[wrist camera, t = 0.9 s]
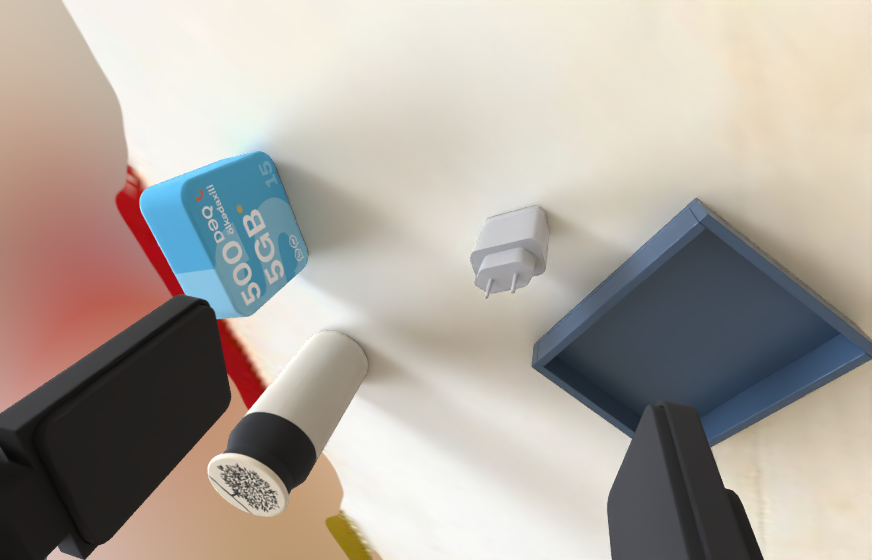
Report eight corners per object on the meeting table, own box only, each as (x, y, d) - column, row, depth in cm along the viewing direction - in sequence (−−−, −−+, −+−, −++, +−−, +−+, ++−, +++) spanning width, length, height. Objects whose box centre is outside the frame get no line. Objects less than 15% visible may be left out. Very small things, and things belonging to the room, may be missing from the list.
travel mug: (343, 320, 50) (247, 446, 35) (382, 373, 53) (307, 513, 38) (294, 340, 54) (186, 464, 38) (332, 389, 56) (245, 523, 41)
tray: (695, 197, 35) (708, 213, 32) (858, 326, 37) (884, 352, 34) (533, 344, 46) (531, 367, 43) (666, 440, 47) (673, 468, 44)
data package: (312, 261, 48) (243, 324, 37) (277, 265, 49) (201, 327, 39) (268, 147, 42) (175, 184, 32) (230, 155, 44) (129, 194, 34)
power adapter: (482, 219, 41) (454, 282, 30) (542, 203, 39) (533, 265, 28) (492, 250, 42) (468, 320, 32) (551, 236, 40) (545, 307, 30)
